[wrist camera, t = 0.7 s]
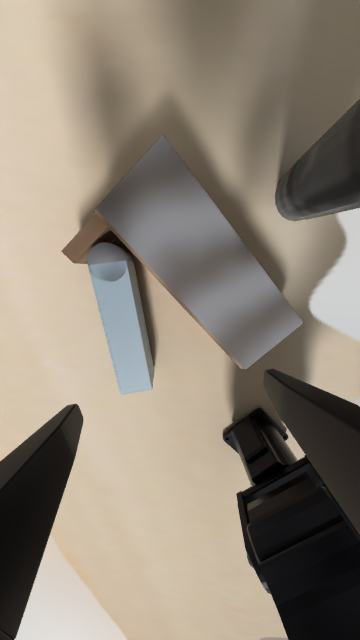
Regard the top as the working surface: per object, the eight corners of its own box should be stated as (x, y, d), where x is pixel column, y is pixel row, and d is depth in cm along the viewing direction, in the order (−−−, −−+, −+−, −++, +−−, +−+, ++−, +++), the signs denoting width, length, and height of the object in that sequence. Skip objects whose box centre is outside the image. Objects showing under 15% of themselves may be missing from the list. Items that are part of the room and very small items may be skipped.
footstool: (277, 311, 21) (308, 323, 16) (202, 373, 22) (211, 400, 18) (164, 165, 17) (163, 126, 12) (81, 254, 18) (51, 249, 13)
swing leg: (154, 370, 21) (151, 389, 18) (128, 374, 21) (120, 394, 18) (130, 245, 18) (122, 239, 14) (98, 249, 18) (82, 245, 14)
